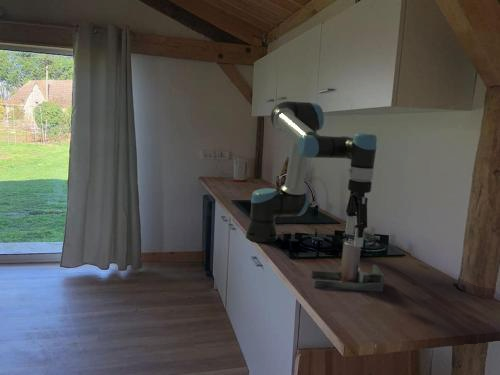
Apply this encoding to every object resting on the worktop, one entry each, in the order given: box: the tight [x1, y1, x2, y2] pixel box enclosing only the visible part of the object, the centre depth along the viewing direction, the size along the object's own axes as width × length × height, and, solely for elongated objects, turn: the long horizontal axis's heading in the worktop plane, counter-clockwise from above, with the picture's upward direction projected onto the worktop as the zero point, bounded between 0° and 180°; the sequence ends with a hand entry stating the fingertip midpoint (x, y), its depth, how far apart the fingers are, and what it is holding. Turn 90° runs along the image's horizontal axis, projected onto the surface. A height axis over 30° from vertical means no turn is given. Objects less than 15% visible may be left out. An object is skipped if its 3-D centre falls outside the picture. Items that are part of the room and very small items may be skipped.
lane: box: [310, 264, 386, 293], centre depth 141 cm, size 10×23×6 cm, turn 89°
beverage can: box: [339, 240, 362, 282], centre depth 141 cm, size 6×6×15 cm
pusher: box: [357, 268, 369, 283], centre depth 141 cm, size 7×3×5 cm, turn 179°
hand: (353, 239), depth 139 cm, fingers open, 13 cm apart
